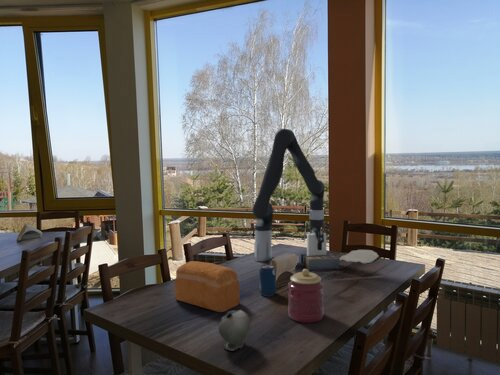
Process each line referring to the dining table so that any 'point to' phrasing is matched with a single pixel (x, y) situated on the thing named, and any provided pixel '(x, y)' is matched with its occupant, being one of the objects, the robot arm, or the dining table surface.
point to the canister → (305, 297)
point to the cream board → (315, 245)
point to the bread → (207, 286)
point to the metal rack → (320, 262)
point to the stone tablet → (360, 256)
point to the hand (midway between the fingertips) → (316, 248)
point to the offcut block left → (311, 259)
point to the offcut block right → (327, 257)
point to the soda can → (267, 280)
